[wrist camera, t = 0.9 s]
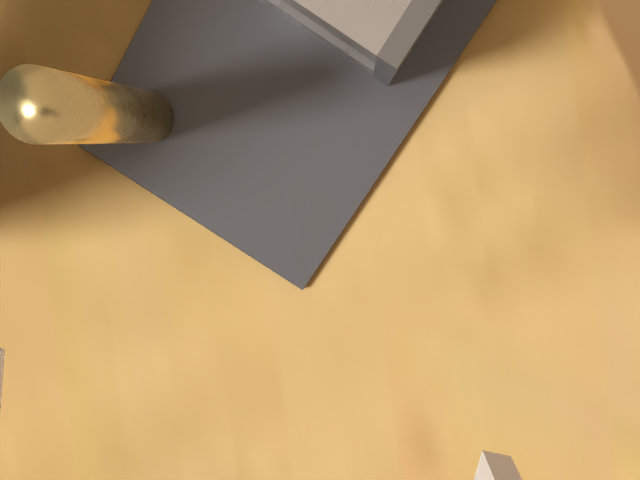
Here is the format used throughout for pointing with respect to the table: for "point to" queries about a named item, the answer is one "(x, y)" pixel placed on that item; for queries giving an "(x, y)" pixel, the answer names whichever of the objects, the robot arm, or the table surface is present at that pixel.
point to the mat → (273, 122)
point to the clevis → (363, 28)
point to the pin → (79, 109)
